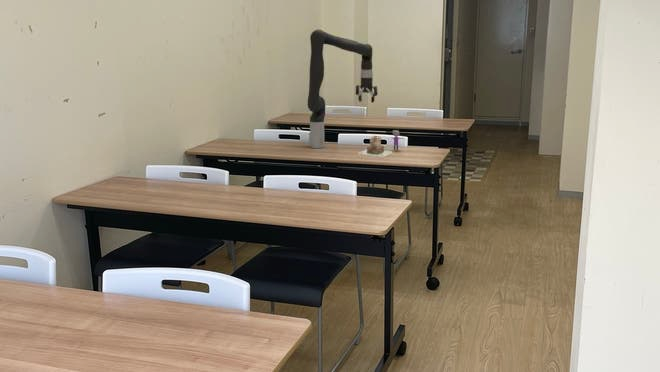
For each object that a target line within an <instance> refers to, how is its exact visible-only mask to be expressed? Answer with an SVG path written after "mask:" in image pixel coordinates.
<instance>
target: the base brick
mask: <svg viewBox="0 0 660 372" xmlns="http://www.w3.org/2000/svg"><path fill="white" fill-rule="evenodd" d="M366 149H367V153H368V154H377V155H379V154H381V153H383V152H384V151H385V145H382V144H381V146H380V147H378V148H376V147H370V145H369V146H367V147H366Z"/></svg>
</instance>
